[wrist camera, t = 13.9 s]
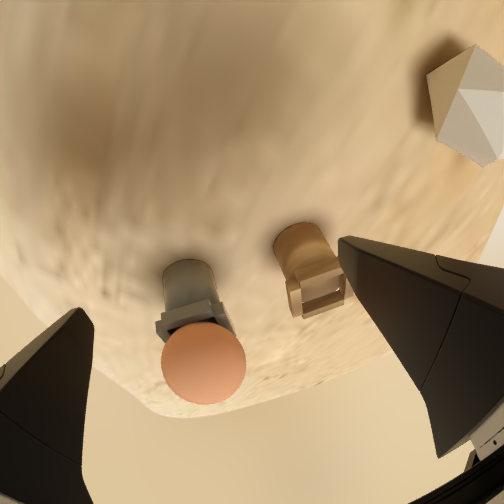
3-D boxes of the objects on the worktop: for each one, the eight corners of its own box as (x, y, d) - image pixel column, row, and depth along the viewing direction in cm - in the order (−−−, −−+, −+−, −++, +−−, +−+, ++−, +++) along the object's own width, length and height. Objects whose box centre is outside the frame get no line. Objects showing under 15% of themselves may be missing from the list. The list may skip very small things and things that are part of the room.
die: (400, 138, 23) (497, 204, 19) (411, 76, 14) (548, 169, 11) (434, 74, 22) (522, 131, 18) (447, 8, 13) (562, 82, 10)
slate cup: (148, 267, 25) (151, 327, 21) (208, 248, 25) (222, 306, 21) (171, 303, 28) (178, 357, 24) (224, 286, 29) (238, 340, 25)
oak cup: (264, 230, 25) (288, 285, 21) (324, 211, 25) (357, 261, 21) (273, 270, 29) (294, 322, 25) (325, 253, 29) (352, 301, 25)
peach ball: (270, 366, 23) (249, 321, 19) (226, 430, 20) (191, 398, 16) (211, 340, 26) (183, 294, 22) (169, 393, 23) (129, 355, 19)
